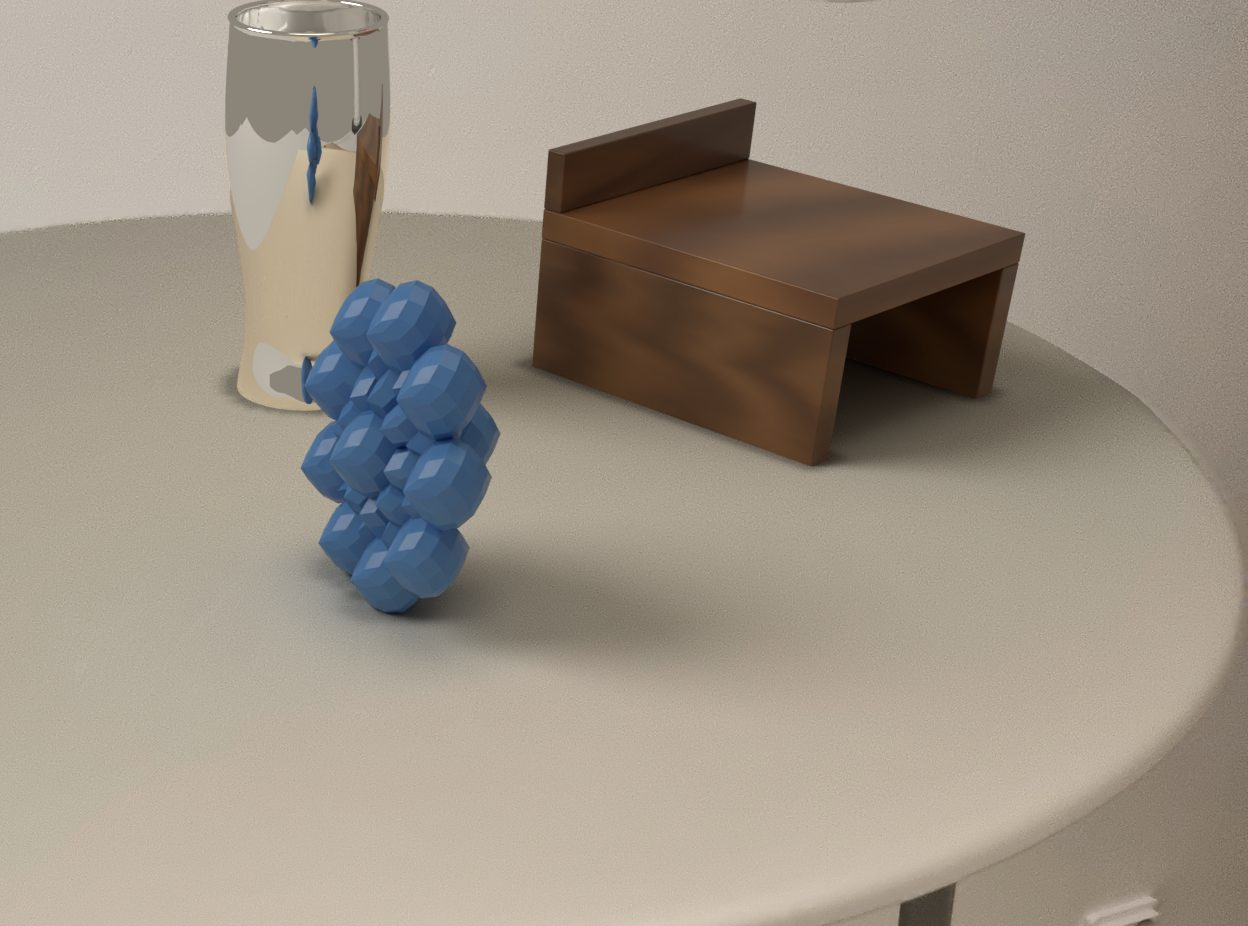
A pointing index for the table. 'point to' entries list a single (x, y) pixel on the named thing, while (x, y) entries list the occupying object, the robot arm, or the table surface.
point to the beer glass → (303, 176)
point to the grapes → (398, 443)
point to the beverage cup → (843, 1)
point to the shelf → (754, 282)
